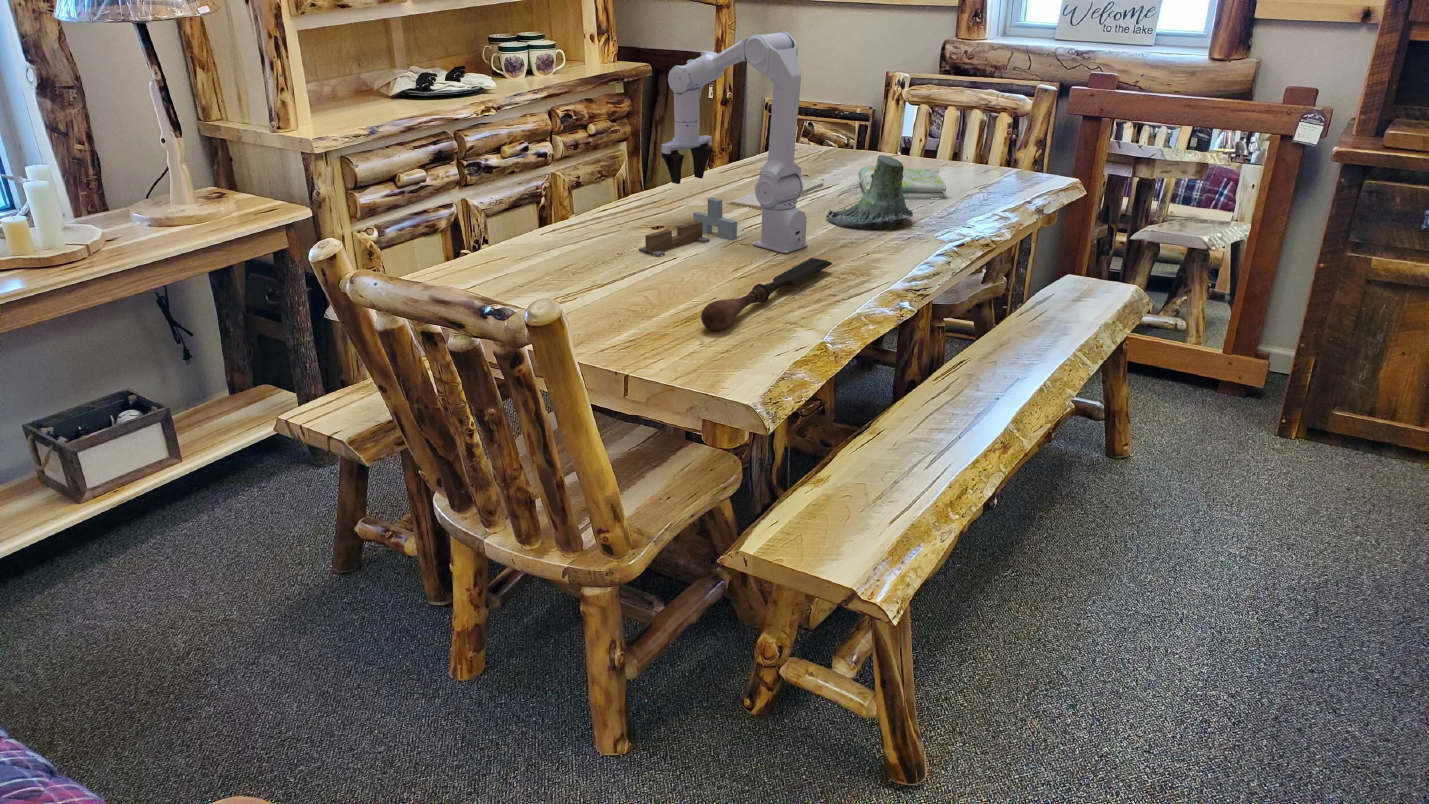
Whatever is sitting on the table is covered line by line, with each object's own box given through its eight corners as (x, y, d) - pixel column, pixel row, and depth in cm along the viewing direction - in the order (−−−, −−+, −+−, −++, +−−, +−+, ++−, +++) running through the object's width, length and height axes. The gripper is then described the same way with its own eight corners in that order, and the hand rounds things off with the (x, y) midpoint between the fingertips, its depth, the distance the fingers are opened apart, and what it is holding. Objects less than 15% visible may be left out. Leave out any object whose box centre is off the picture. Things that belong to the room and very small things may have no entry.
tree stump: (843, 208, 256) (865, 139, 247) (915, 238, 249) (940, 168, 240) (812, 221, 241) (834, 148, 232) (887, 254, 234) (913, 180, 225)
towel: (947, 201, 262) (949, 181, 260) (864, 200, 262) (865, 180, 260) (935, 184, 278) (936, 165, 276) (857, 183, 279) (858, 165, 276)
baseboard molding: (721, 205, 258) (761, 212, 252) (721, 194, 257) (761, 201, 251) (785, 182, 281) (823, 188, 275) (785, 171, 280) (823, 177, 274)
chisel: (694, 331, 178) (694, 304, 176) (811, 268, 210) (812, 244, 208) (718, 337, 175) (719, 310, 173) (833, 272, 208) (834, 248, 205)
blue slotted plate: (736, 238, 229) (737, 203, 226) (732, 240, 228) (732, 204, 225) (698, 228, 236) (698, 194, 233) (693, 229, 235) (693, 195, 232)
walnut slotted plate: (709, 241, 227) (709, 223, 225) (658, 257, 216) (657, 238, 215) (690, 236, 231) (690, 218, 229) (638, 251, 220) (638, 233, 218)
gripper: (696, 114, 238) (696, 172, 244) (651, 122, 229) (653, 182, 234) (718, 118, 234) (718, 177, 240) (673, 126, 224) (674, 187, 230)
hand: (687, 180), depth 237 cm, fingers open, 7 cm apart
